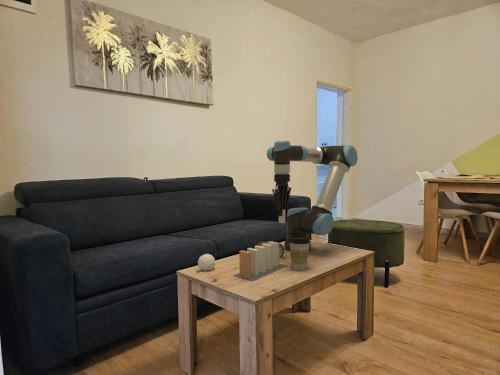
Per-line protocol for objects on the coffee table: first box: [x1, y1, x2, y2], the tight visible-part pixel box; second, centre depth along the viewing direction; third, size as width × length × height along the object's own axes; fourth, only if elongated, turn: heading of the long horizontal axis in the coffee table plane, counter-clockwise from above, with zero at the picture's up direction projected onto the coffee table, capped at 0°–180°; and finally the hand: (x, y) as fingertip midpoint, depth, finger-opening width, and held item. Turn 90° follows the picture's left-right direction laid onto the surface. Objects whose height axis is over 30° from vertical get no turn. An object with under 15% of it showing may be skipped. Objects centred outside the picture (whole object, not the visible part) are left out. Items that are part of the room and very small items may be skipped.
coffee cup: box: [289, 235, 311, 271], centre depth 153 cm, size 10×10×15 cm
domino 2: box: [246, 247, 259, 276], centre depth 145 cm, size 2×5×11 cm, turn 50°
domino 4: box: [261, 244, 273, 270], centre depth 153 cm, size 2×5×11 cm, turn 50°
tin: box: [255, 241, 285, 259], centre depth 171 cm, size 15×3×8 cm, turn 84°
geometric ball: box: [197, 253, 216, 272], centre depth 153 cm, size 8×8×8 cm
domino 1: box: [238, 249, 251, 279], centre depth 142 cm, size 2×5×11 cm, turn 50°
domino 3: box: [253, 245, 266, 273], centre depth 149 cm, size 2×5×11 cm, turn 50°
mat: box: [232, 263, 288, 282], centre depth 150 cm, size 26×11×1 cm, turn 140°
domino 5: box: [267, 241, 280, 267], centre depth 157 cm, size 2×5×11 cm, turn 50°
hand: (281, 222), depth 161 cm, fingers closed
